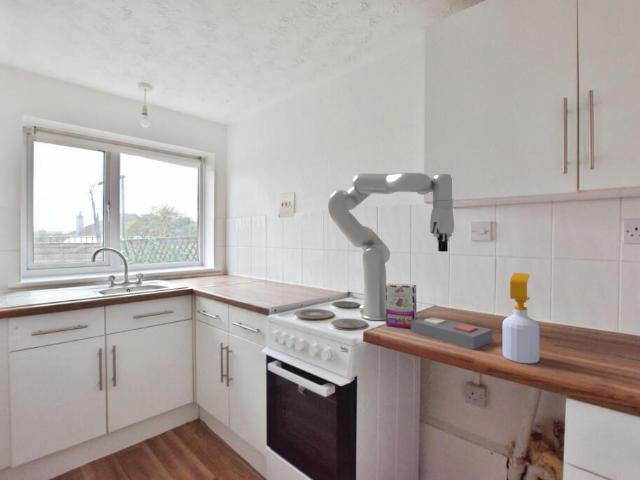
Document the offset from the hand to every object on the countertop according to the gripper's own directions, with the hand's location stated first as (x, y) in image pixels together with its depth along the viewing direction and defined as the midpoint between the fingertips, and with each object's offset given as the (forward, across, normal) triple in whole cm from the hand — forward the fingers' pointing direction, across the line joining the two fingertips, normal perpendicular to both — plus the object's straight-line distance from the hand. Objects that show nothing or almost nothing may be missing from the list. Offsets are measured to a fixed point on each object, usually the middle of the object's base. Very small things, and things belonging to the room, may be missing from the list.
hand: (442, 251), depth 132 cm
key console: (+29, +13, +11) cm, 34 cm away
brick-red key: (+27, +13, +17) cm, 34 cm away
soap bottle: (+29, +15, +35) cm, 48 cm away
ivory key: (+27, +13, +5) cm, 30 cm away
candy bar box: (+29, +16, -8) cm, 34 cm away
